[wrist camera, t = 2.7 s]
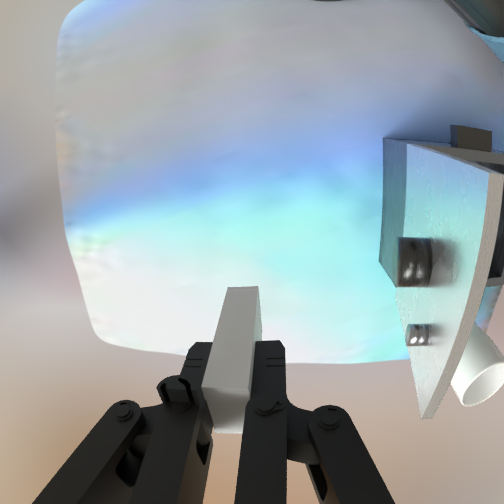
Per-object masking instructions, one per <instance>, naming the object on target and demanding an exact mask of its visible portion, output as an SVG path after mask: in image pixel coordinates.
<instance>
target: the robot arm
mask: <svg viewBox="0 0 504 504" xmlns="http://www.w3.org/2000/svg"><path fill="white" fill-rule="evenodd" d="M317 1H339V0H317ZM444 1H445V2H446V3H447V4H448V5H449V6H450V7H451V8H452V9H453V10H454V11H455V12H456V13H457V14H458V15H459V16H460V17H461V18H462V19H463V20H464V23H465V24H466V26H467V27H468V28H469V29H470V30H471V31H472V32H473V33H475V34H476V35H478V36H479V37H480V38H481V39H482V40H483V41H484V42H485V43H486V44H487V46H488V47H489V48H490V49H491V50H492V51H493V52H494V54H495V55H496V56H497V57H498V58H499V59H500V60H501V61H502V62H503V63H504V0H444ZM261 340H262V324H261V312H260V300H259V288H258V286H253V287H228V289H227V292H226V296H225V300H224V303H223V307H222V311H221V314H220V318H219V322H218V326H217V329H216V333H215V337H214V341H213V342H196V343H195V344H194V345H193V346H192V347H191V348H190V349H189V351H188V354H187V356H186V360H185V362H184V365H183V368H182V371H181V374H180V375H176V376H170V377H167V378H165V379H164V380H162V381H161V382H160V383H159V384H158V386H157V387H156V388H157V390H158V393H159V395H160V397H161V400H162V402H163V403H162V404H160V405H156V406H151V407H143V408H140V407H139V405H138V404H137V403H135V402H134V401H130V400H123V401H119V402H117V403H115V404H113V405H112V406H111V407H110V408H109V409H108V410H107V412H106V413H105V414H104V416H103V417H102V418H101V419H100V420H99V422H98V423H97V424H96V425H95V426H94V428H93V429H92V430H91V431H90V433H89V434H88V435H87V437H85V439H84V440H83V441H82V442H81V443H80V445H79V446H78V447H77V448H76V450H75V451H74V452H73V453H72V455H71V456H70V457H69V458H68V459H67V461H66V462H65V463H64V464H63V466H62V467H61V468H60V469H59V471H58V472H57V473H56V474H55V476H54V477H53V478H52V479H51V481H50V482H49V483H48V484H47V486H46V487H45V488H44V489H43V491H42V492H41V493H40V494H39V496H38V497H37V498H36V499H35V501H34V502H33V503H32V504H203V498H204V492H205V487H206V481H207V476H208V470H209V464H210V459H211V453H212V447H213V439H212V436H211V433H212V428H213V427H214V430H215V432H216V433H236V434H242V442H241V451H240V460H239V468H238V476H237V486H236V494H235V502H234V504H286V495H287V488H286V487H287V459H288V460H292V461H296V462H301V463H305V464H306V467H307V470H308V473H309V476H310V478H311V481H312V484H313V486H314V490H315V492H316V495H317V498H318V500H319V503H320V504H395V502H394V500H393V499H392V497H391V495H390V493H389V491H388V489H387V487H386V485H385V483H384V481H383V479H382V477H381V476H380V473H379V472H378V470H377V468H376V466H375V464H374V462H373V460H372V458H371V456H370V454H369V452H368V450H367V448H366V447H365V445H364V443H363V441H362V439H361V437H360V435H359V433H358V431H357V429H356V428H355V426H354V424H353V422H352V420H351V418H350V416H349V414H348V413H347V412H346V411H345V410H344V409H342V408H340V407H338V406H333V405H326V406H321V407H319V408H317V409H315V410H314V411H308V410H304V409H300V408H297V407H296V406H294V405H292V404H291V403H290V402H289V400H288V398H287V395H286V368H285V367H286V366H285V347H284V346H283V345H282V343H281V342H280V340H275V341H261Z"/></svg>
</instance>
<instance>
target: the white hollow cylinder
mask: <svg viewBox="0 0 504 504" xmlns="http://www.w3.org/2000/svg"><path fill="white" fill-rule="evenodd" d="M503 383H504V356H503V354H502V353H501V351H500V350H499V349H498V347H497V346H496V345H495V344H494V342H493V341H492V340H491V339H490V337H489V336H488V335H487V334H486V333H485V332H484V331H483V330H482V329H481V328H480V327H479V326H478V325H477V324H476V323H475V322H474V325H473V328H472V331H471V334H470V337H469V339H468V342H467V345H466V347H465V350H464V352H463V355H462V357H461V360H460V362H459V365H458V367H457V369H456V372H455V374H454V376H453V378H452V381H451V386H452V387H453V389H454V391H455V393H456V395H457V397H458V398H459V400H460V402H461V404H462V405H464V406H474V405H477V404H479V403H481V402H483V401H485V400H486V399H488V398H489V397H491V396H492V395H493V394H494V393H495V392H496V391H497V390H498V389H499V388H500V387H501V386H502V385H503Z"/></svg>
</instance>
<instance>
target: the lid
mask: <svg viewBox="0 0 504 504" xmlns="http://www.w3.org/2000/svg"><path fill="white" fill-rule="evenodd" d="M503 183H504V175H503V174H501V173H498V172H496V171H493V170H491V169H488V168H486V167H483V166H480V165H478V164H475V163H472V162H469V161H467V160H464V159H461V158H458V157H455V156H452V155H449V154H446V153H443V152H439V151H436V150H433V149H430V148H426V147H423V146H419V145H415V144H407V180H406V203H405V218H404V231H403V237H396V239H395V242H394V246H393V254H392V276H393V283H394V286H395V287H397V288H396V295H395V300H396V304H397V307H398V311H399V315H400V319H401V323H402V327H403V331H404V335H405V341H406V346H407V347H408V352H409V356H410V361H411V365H412V371H413V376H414V381H415V387H416V392H417V398H418V404H419V410H420V417H421V419H432V418H433V417H434V415H435V413H436V411H437V409H438V407H439V405H440V403H441V401H442V399H443V397H444V395H445V393H446V391H447V389H448V387H449V385H450V383H451V381H452V378H453V376H454V374H455V372H456V369H457V367H458V365H459V362H460V360H461V357H462V355H463V352H464V350H465V347H466V345H467V342H468V339H469V337H470V334H471V331H472V328H473V325H474V322H475V319H476V316H477V313H478V310H479V307H480V303H481V300H482V297H483V293H484V290H485V286H486V282H487V278H488V274H489V270H490V266H491V261H492V257H493V252H494V247H495V242H496V236H497V231H498V225H499V218H500V211H501V203H502V194H503Z"/></svg>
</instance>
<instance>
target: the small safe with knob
mask: <svg viewBox="0 0 504 504" xmlns="http://www.w3.org/2000/svg"><path fill="white" fill-rule="evenodd" d="M450 126H451V143H442V142H431V141H419V140H403V139H383V208H382V227H381V242H380V254H379V262H380V264H381V265H382V267H383V268H384V270H385V271H386V273H387V274H388V276H389V277H390V279H391V280H392V282H393V276H392V254H393V246H394V242H395V239H396V237H403V231H404V218H405V203H406V180H407V144H415V145H419V146H423V147H426V148H430V149H433V150H436V151H439V152H443V153H446V154H449V155H452V156H455V157H458V158H461V159H464V160H467V161H469V162H472V163H475V164H478V165H480V166H483V167H486V168H488V169H491V170H493V171H496V172H498V173H501V174H503V175H504V152H500V151H496V150H492V131H488V130H482V129H477V128H471V127H464V126H458V125H450ZM393 284H394V283H393ZM503 284H504V183H503V194H502V203H501V211H500V218H499V225H498V231H497V236H496V242H495V247H494V252H493V257H492V261H491V266H490V270H489V274H488V278H487V282H486V286H485V287H490V286H497V285H503ZM396 288H397V287H396Z"/></svg>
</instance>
